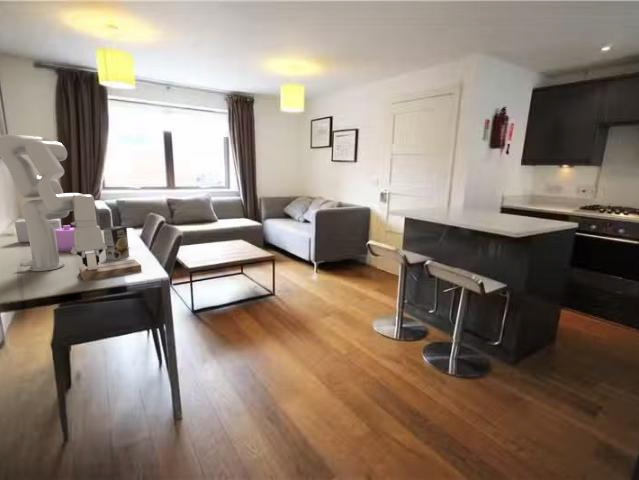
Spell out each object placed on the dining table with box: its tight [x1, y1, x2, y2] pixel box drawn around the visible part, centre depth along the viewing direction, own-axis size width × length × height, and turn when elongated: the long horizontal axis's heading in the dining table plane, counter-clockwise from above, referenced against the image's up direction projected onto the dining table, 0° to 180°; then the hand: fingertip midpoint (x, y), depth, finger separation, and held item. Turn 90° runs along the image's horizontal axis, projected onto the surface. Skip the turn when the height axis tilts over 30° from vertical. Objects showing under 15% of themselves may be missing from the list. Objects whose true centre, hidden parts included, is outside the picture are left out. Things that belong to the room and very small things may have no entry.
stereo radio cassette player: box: [14, 218, 63, 243], centre depth 201 cm, size 21×8×20 cm, turn 114°
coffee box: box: [102, 225, 130, 261], centre depth 172 cm, size 9×6×16 cm
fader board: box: [78, 258, 142, 282], centre depth 150 cm, size 22×12×3 cm, turn 133°
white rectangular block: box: [85, 250, 97, 270], centre depth 144 cm, size 3×4×7 cm
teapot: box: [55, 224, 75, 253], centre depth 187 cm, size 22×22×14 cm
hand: (91, 264), depth 145 cm, fingers closed on white rectangular block, 3 cm apart
